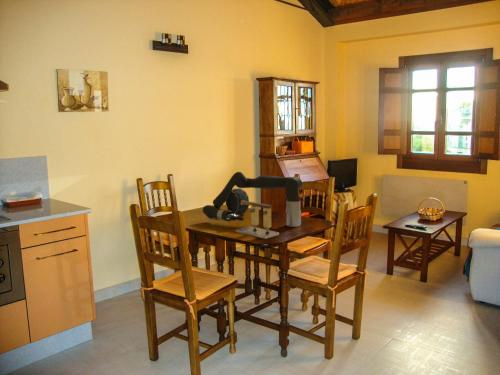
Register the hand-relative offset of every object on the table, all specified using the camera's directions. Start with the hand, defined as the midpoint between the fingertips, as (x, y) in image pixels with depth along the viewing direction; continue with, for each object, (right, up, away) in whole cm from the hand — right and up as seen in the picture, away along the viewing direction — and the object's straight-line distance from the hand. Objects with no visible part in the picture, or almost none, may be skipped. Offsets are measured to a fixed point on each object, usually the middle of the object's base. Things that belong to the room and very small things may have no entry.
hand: (242, 219), depth 307 cm
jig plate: (+9, -9, -8) cm, 15 cm away
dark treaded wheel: (-5, 0, +50) cm, 51 cm away
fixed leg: (+16, -8, -14) cm, 22 cm away
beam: (+8, +9, -10) cm, 16 cm away
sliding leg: (+8, -7, -7) cm, 13 cm away
